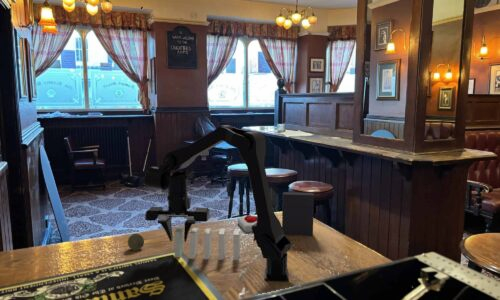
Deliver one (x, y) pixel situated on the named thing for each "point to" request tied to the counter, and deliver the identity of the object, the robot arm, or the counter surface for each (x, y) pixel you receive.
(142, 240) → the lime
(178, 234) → the domino
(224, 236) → the domino
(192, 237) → the domino
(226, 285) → the counter surface
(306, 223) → the dark grey upright block
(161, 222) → the robot arm
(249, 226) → the red button box
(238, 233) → the domino
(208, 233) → the domino
